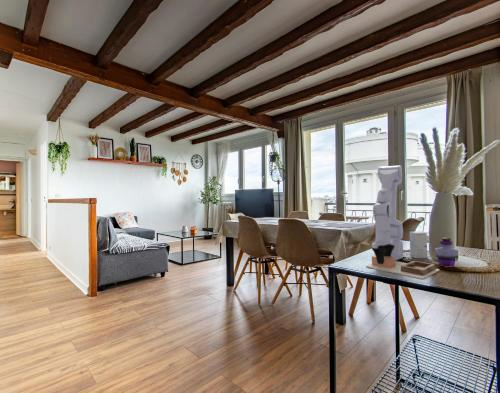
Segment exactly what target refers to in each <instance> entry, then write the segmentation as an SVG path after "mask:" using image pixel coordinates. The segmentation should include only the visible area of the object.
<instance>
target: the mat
mask: <svg viewBox="0 0 500 393" xmlns="http://www.w3.org/2000/svg"><path fill="white" fill-rule="evenodd" d="M407 263H408V262H407ZM407 263H406V262H401V261H396V266H394V267H392V268H388V267H383V266H378V265H373V264H372V263H370V264H367V265H365V267H366V268H369V269H373V270H378V271H382V272H388V273H390V274H391V273H392V274H396V275H402V276H406V277H411V278H414V279H420V280H423V279H426V278H428V277H430V276H432V275H433V274H435V273H438V272H440V269H439V268H436V269H435V270H433V271H431V272H429V273H427V274H425V275H423V276H422V275H418V274H413V273H408V272H403V271H401V266H402V265H405V264H407Z"/></svg>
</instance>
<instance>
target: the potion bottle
mask: <svg viewBox="0 0 500 393" xmlns="http://www.w3.org/2000/svg"><path fill="white" fill-rule="evenodd" d="M439 242H440V245H442V246H440V247H435V248H434V251H435V256H436V258H437V261H438V266H439V265H443V266H454V267H455V264H456V262H458V260H459V249H455V248H454V247H453V248H452V247H451V246H453V241H452V239H451V237H446V236H445V237H441V239H440V241H439Z"/></svg>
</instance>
